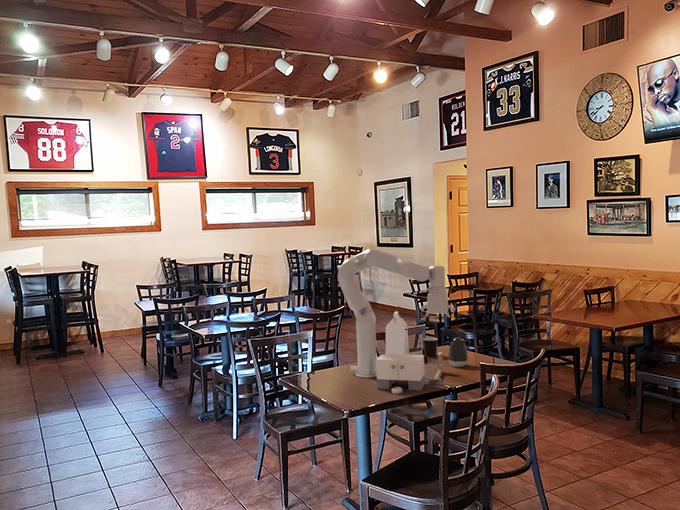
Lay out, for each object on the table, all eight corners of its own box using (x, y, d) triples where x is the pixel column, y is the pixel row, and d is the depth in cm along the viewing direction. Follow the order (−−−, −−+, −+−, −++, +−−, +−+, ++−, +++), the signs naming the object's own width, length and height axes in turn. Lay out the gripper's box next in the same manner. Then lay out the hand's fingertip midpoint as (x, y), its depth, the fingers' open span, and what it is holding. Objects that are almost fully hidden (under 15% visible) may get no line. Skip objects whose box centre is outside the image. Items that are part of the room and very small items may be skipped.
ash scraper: (428, 384, 248) (427, 362, 247) (435, 371, 270) (434, 352, 270) (441, 384, 246) (440, 363, 245) (447, 372, 268) (446, 352, 268)
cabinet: (376, 389, 242) (375, 360, 242) (382, 381, 255) (381, 353, 254) (420, 391, 236) (419, 361, 236) (424, 383, 249) (423, 355, 248)
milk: (389, 354, 315) (388, 310, 314) (409, 355, 311) (407, 310, 310) (385, 359, 303) (383, 313, 302) (405, 359, 300) (403, 313, 299)
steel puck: (395, 394, 233) (395, 390, 233) (389, 392, 237) (389, 387, 237) (404, 393, 235) (404, 388, 235) (398, 390, 239) (398, 386, 239)
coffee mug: (428, 354, 312) (427, 337, 312) (441, 355, 306) (440, 338, 306) (417, 357, 303) (417, 340, 303) (431, 359, 297) (430, 341, 297)
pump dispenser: (465, 369, 273) (464, 339, 273) (445, 367, 279) (444, 338, 278) (471, 364, 282) (470, 336, 281) (452, 363, 287) (451, 335, 287)
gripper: (418, 291, 263) (419, 325, 264) (454, 291, 258) (455, 326, 258) (421, 289, 270) (421, 323, 271) (455, 289, 265) (456, 324, 266)
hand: (437, 324), depth 265 cm, fingers open, 9 cm apart
